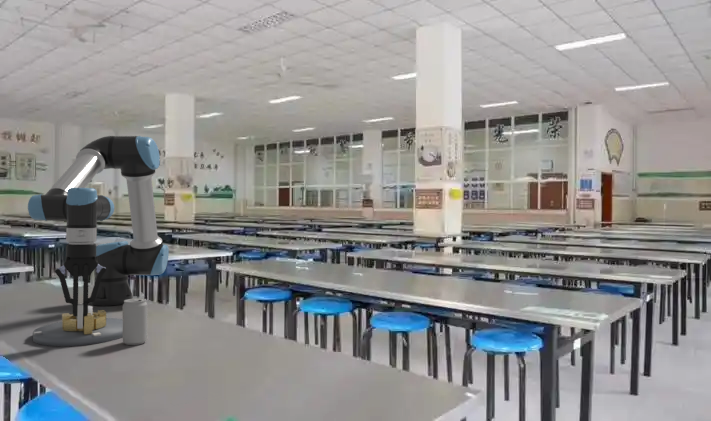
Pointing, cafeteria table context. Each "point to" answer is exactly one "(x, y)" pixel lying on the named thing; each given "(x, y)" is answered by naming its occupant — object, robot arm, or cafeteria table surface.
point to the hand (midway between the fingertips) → (80, 327)
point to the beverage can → (134, 321)
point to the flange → (78, 333)
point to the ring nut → (84, 322)
